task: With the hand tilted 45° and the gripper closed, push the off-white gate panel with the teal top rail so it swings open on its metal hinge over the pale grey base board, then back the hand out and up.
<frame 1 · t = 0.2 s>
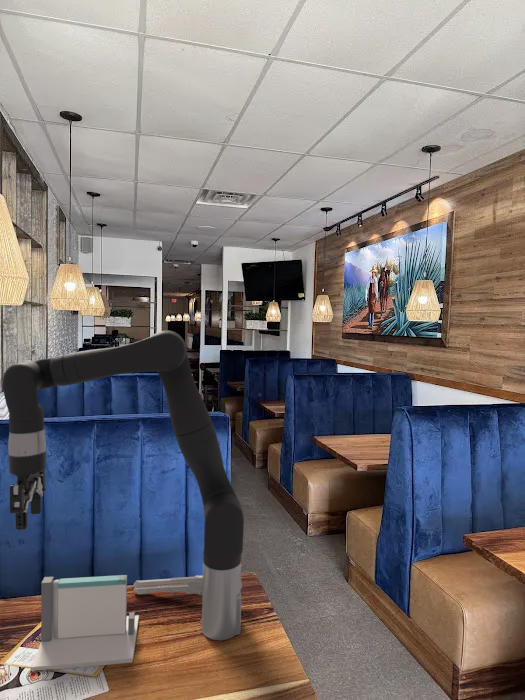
hand: (29, 520, 107), 29 cm above the table, tool pointing down, fingers open, 8 cm apart
grey flat elongated piece: (186, 600, 127), on the table
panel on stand: (88, 638, 110), on the table
gate panel: (90, 606, 110), point 8 cm above the table, hinge at 0.0°
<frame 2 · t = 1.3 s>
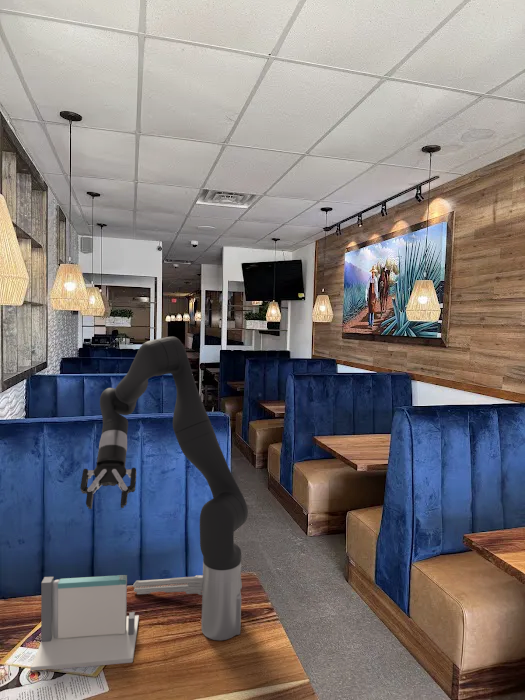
hand: (106, 507, 121), 27 cm above the table, tool tilted 45°, fingers open, 7 cm apart
nothing on the table moved.
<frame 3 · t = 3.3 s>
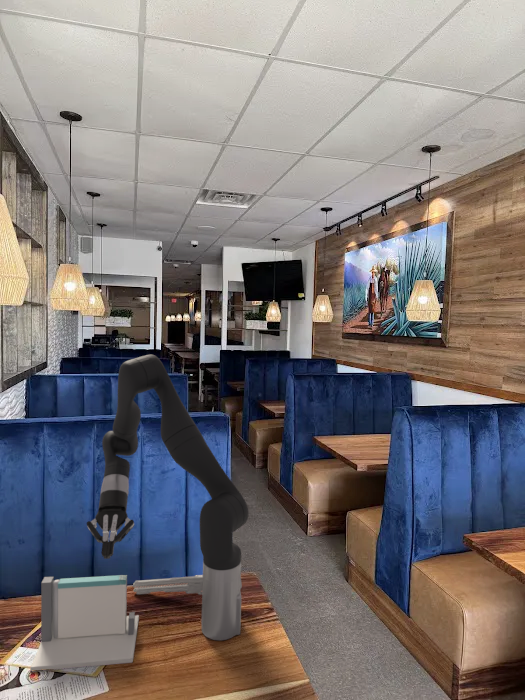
hand: (106, 557, 122), 13 cm above the table, tool tilted 45°, fingers closed
nothing on the table moved.
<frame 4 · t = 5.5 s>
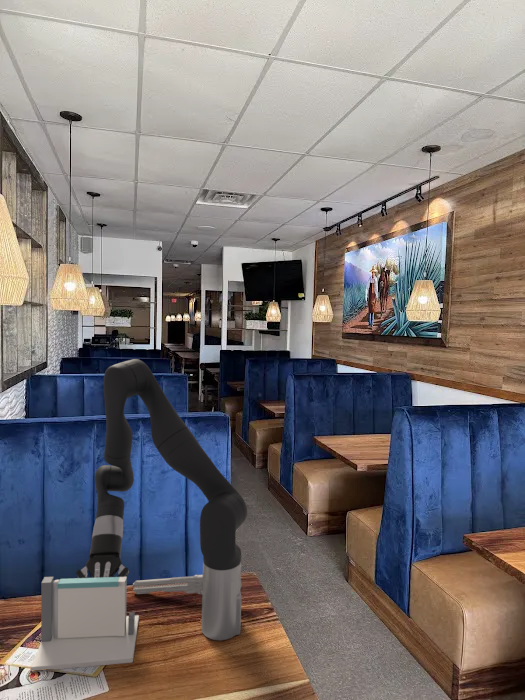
hand: (98, 611, 111), 6 cm above the table, tool tilted 45°, fingers closed
gate panel: (89, 607, 109), point 8 cm above the table, hinge at 3.0°, touching gripper
everything else where it was.
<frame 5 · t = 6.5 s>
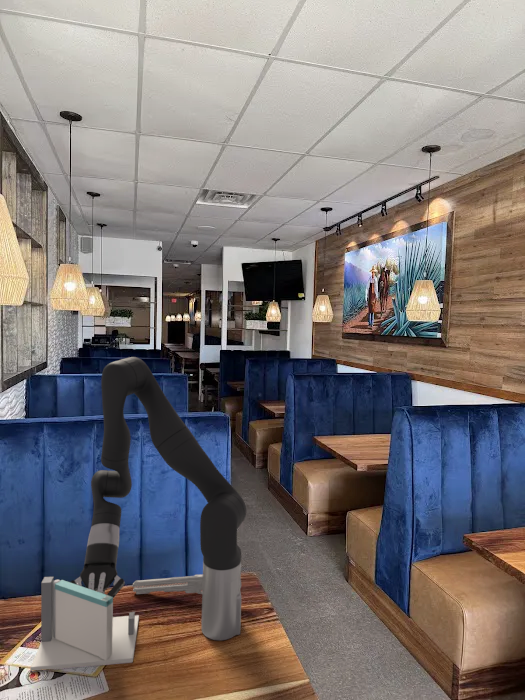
hand: (91, 625, 107), 6 cm above the table, tool tilted 45°, fingers closed
gate panel: (81, 617, 105), point 8 cm above the table, hinge at 33.4°, touching gripper
everything else where it was.
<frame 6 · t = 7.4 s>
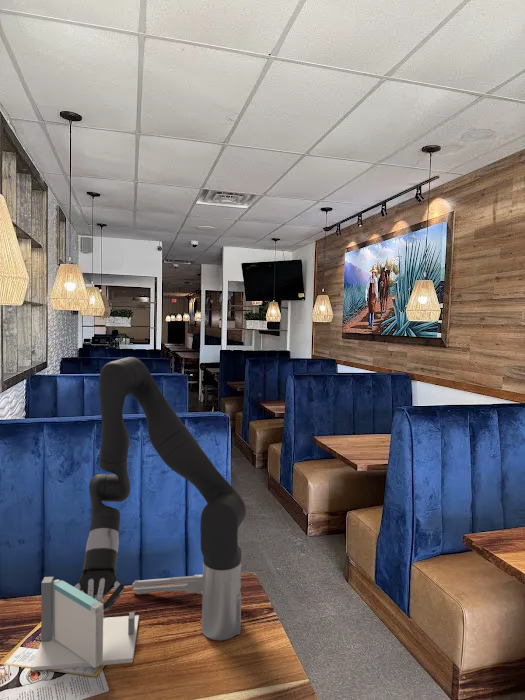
hand: (91, 632, 104), 6 cm above the table, tool tilted 45°, fingers closed
gate panel: (76, 621, 104), point 8 cm above the table, hinge at 43.8°, touching gripper
everything else where it was.
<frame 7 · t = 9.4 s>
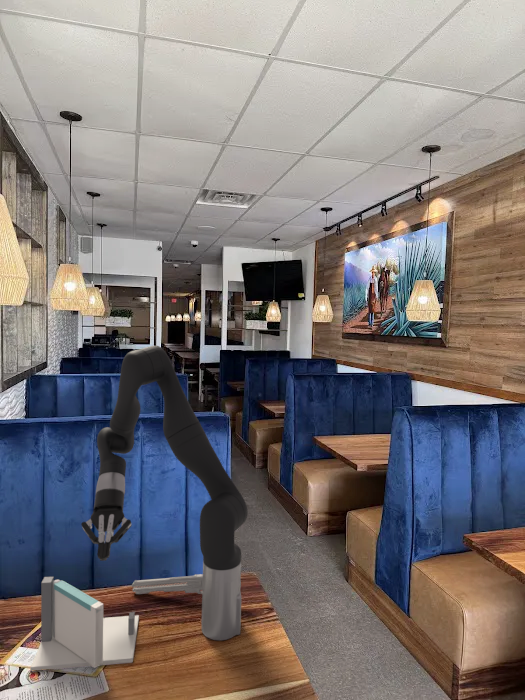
hand: (103, 559, 117), 15 cm above the table, tool tilted 45°, fingers closed
gate panel: (76, 621, 104), point 8 cm above the table, hinge at 43.9°
everything else where it was.
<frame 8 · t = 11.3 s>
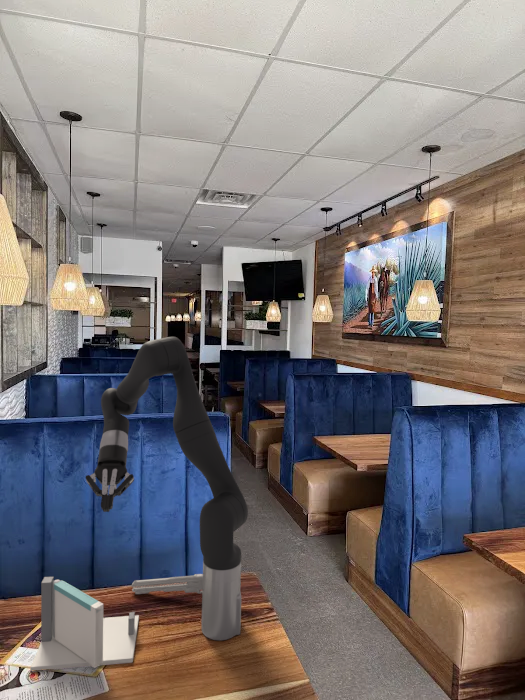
hand: (106, 510, 120), 26 cm above the table, tool tilted 45°, fingers closed
nothing on the table moved.
at the end: gate panel at +44° (first picture: +0°); grey flat elongated piece moved 0.8 cm from its start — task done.
